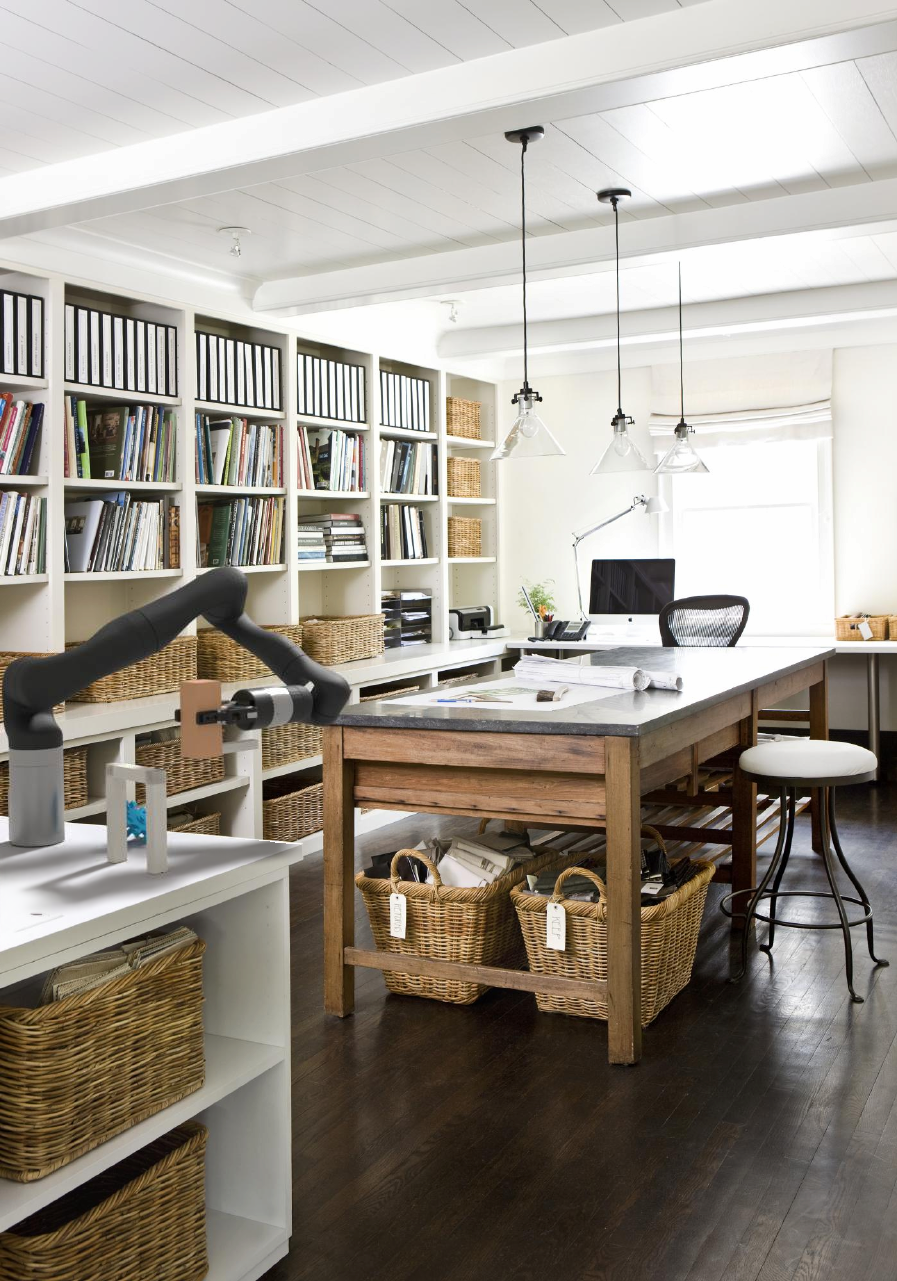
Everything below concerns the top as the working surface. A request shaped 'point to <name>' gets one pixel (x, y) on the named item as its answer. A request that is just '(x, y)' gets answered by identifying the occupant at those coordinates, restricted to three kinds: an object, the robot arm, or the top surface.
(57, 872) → the top surface
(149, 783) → the grey arch
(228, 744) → the orange and grey bookend
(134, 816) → the blue branched piece
